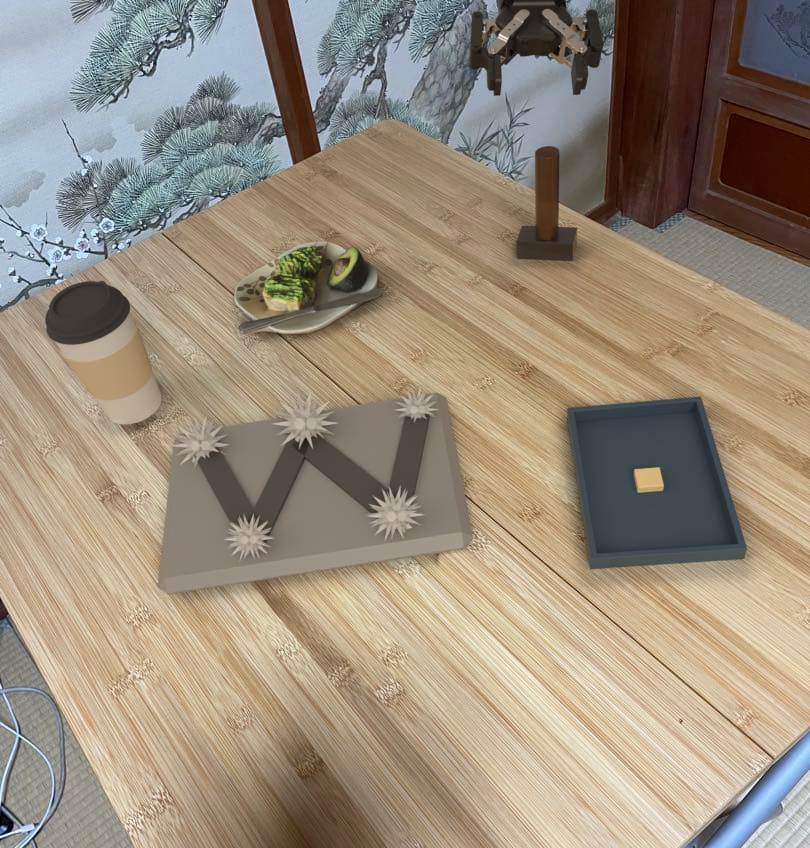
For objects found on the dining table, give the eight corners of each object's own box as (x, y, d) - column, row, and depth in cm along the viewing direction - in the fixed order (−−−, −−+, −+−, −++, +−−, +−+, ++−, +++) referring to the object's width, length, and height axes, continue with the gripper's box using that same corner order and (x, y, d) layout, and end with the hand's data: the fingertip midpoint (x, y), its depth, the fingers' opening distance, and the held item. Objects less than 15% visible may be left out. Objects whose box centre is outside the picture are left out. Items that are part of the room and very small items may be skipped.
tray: (566, 425, 87) (567, 407, 85) (697, 414, 85) (701, 396, 83) (589, 575, 75) (590, 559, 73) (742, 565, 73) (747, 548, 71)
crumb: (633, 474, 80) (633, 468, 79) (658, 472, 80) (659, 466, 79) (637, 493, 79) (637, 487, 78) (663, 491, 78) (664, 485, 78)
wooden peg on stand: (522, 242, 108) (519, 144, 98) (576, 245, 106) (580, 144, 96) (517, 258, 106) (514, 159, 96) (572, 261, 104) (575, 160, 94)
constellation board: (162, 604, 79) (133, 559, 74) (179, 445, 93) (156, 397, 87) (475, 555, 78) (470, 505, 72) (446, 401, 91) (440, 349, 86)
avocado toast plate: (279, 371, 98) (269, 340, 95) (203, 310, 108) (191, 280, 104) (404, 293, 104) (399, 261, 101) (321, 242, 114) (314, 211, 110)
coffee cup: (111, 443, 94) (49, 336, 83) (85, 401, 99) (24, 295, 88) (183, 406, 97) (133, 298, 85) (154, 367, 102) (103, 260, 90)
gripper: (469, -48, 91) (473, 57, 85) (599, -50, 91) (612, 55, 85) (465, 18, 98) (469, 119, 92) (587, 16, 98) (598, 117, 92)
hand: (538, 88), depth 89 cm, fingers open, 8 cm apart
